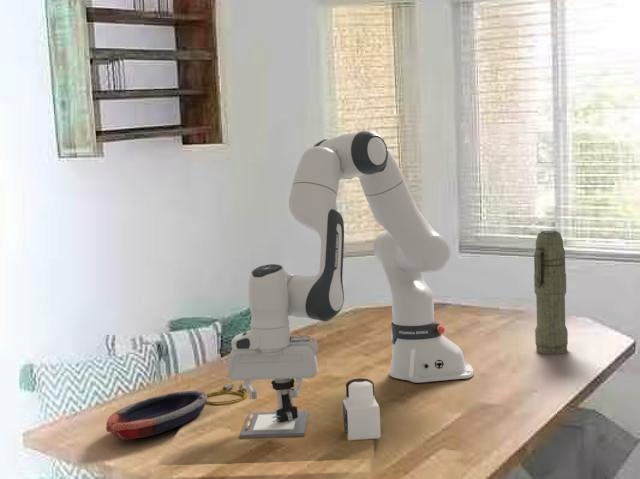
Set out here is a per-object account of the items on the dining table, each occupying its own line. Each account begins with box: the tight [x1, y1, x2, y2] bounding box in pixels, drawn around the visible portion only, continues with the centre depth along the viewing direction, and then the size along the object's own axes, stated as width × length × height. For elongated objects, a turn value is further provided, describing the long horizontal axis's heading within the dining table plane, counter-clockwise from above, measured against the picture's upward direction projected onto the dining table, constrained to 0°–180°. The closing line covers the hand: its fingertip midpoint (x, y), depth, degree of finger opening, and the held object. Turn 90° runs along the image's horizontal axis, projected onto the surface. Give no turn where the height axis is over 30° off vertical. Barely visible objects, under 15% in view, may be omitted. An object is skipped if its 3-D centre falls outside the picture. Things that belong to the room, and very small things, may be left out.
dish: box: [105, 390, 208, 440], centre depth 208 cm, size 16×31×5 cm, turn 145°
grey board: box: [239, 410, 309, 439], centre depth 203 cm, size 14×16×1 cm
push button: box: [270, 378, 298, 422], centre depth 203 cm, size 7×5×10 cm
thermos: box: [533, 230, 569, 356], centre depth 255 cm, size 9×12×35 cm
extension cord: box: [205, 381, 248, 406], centre depth 229 cm, size 12×16×2 cm
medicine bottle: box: [342, 378, 382, 441], centre depth 193 cm, size 7×7×12 cm
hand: (274, 397), depth 202 cm, fingers open, 8 cm apart
